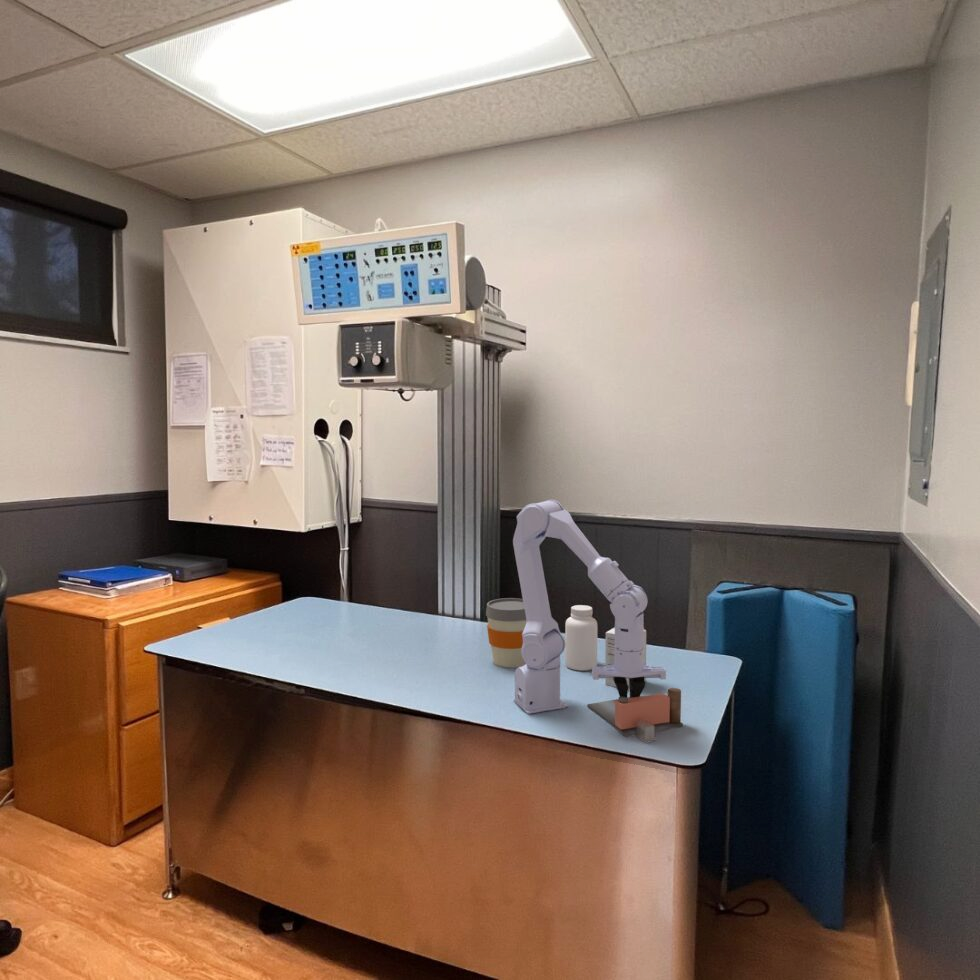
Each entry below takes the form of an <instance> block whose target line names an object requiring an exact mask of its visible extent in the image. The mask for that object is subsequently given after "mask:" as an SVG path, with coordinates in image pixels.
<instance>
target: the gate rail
mask: <svg viewBox="0 0 980 980" xmlns="http://www.w3.org/2000/svg"><path fill="white" fill-rule="evenodd" d="M627 697H628V696H627ZM627 697H624V696H621V697H620V696H619V697H618V699H619V700H615V699H614V700H615V725H616V726H617V727H619V728H620V729H627V728H634V727H637V721H641V720H647V721H648V722H650V723H651V724H659V723H665V722H669V719H670V697H668V694H665V692H664V693H663V692H662V693H655V694H654V693H653V694H648V695H643V696H642V695H640V697H633V698H627Z"/></svg>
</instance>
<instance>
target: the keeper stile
mask: <svg viewBox="0 0 980 980" xmlns="http://www.w3.org/2000/svg"><path fill="white" fill-rule="evenodd" d="M636 737H637V738H639V740H641V741H642V742H644V743H645V744H647V743H650V742H655V732H654V725H653V724H651V723H650V722H648V721H647V720H641V721H637V735H636Z"/></svg>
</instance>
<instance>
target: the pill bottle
mask: <svg viewBox="0 0 980 980" xmlns="http://www.w3.org/2000/svg"><path fill="white" fill-rule="evenodd" d="M593 614H594V613H593V607H592V606H590V605H585V604H584V605H583V604H577V605H573V606H571V607H570V617H568V618H567V619H566V620H565V623H564V624H565V625H564V626H565V636H564V637H565V638H564V640H565V649H564V652H565V654H564V655H565V665H566V668H568V669H570V670H575V671H584V672H585V671H592V667H598V666H597V665H598V621H597V620H596V619H595V618H594V617H593Z"/></svg>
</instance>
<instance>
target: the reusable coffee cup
mask: <svg viewBox="0 0 980 980" xmlns="http://www.w3.org/2000/svg"><path fill="white" fill-rule="evenodd" d="M485 616H486V617H487V623H488V624H487V626H486V627H487V636H488V643H489V644H490V646H491V647H490V648H491V653H492V661H493V663H494V664H495V665H496V666H499V667H501V668H518V667H521V666H524V665H525V664H526V663H525V661H524V660H523V658H522V654H521V648H522V645H523V637H522V633H523V631H524V628H525V626H526V623H527V620H526V614H525V609H524V603H523V598H519V597H518V598H516V597H515V598H514V597H507V598H505V597H504V598H497V599H493V600H489V601H488V602H487V603H486V610H485Z"/></svg>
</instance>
